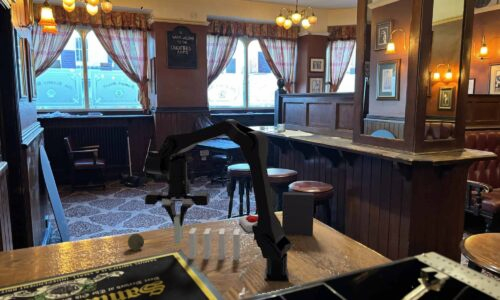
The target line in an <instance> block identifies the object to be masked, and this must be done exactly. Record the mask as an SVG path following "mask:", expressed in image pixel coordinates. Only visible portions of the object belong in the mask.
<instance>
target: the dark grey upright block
mask: <svg viewBox="0 0 500 300" xmlns="http://www.w3.org/2000/svg"><path fill="white" fill-rule="evenodd" d="M314 207H315V196H314V192H294V191H293V192H292V191H291V192H289V191H288V192H287V191H286V192H285V191H284V192H282V213H281V215H282V217H281V226H282V228H283V231H284V235H285V236H303V237H305V236H306V237H307V236H309V237H310V236H311V237H313V236H314V213H315V212H314Z"/></svg>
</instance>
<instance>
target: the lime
mask: <svg viewBox="0 0 500 300" xmlns="http://www.w3.org/2000/svg"><path fill="white" fill-rule="evenodd" d="M144 242H145V239H144V236H142V235H141V234H139V233H133V234H131V235H130V236H129V237H128V240H127V246H128V248H129V249H130V250H132V251H140V249H142V248H143V246H144Z"/></svg>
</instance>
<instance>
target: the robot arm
mask: <svg viewBox="0 0 500 300" xmlns="http://www.w3.org/2000/svg"><path fill="white" fill-rule="evenodd" d="M223 136H226V137H228V139H229V140H231V142H233V143H234V144H235V145H237V146H239V149H240V152H241V155H242V157H243V159H244V160H245V162H246V163H247V165H248V168H249V172H250V178H251V183H252V191H253V195H254V200H255V202H254V203H255V206H256V207H255V208H256V212H257V216H258V221H257V223H255V224H254V225H252V230H253V232H252V233H253V241H255V243H256V245H257V247H258V248H259V249H260V251H261V255H262V258H263V259H265V260H266V261H265V262H266V263H265V265H266V266H265V268H264V281H282V282H283V281H285V282H287V281H290V275H289V269H288V252H289V251H290V250H291V248H292V245H293V243H292V242H291V241H290V239H289V238H288V237H287V235H284V231H283V228H282V222H281V220H280V219H279V217H277V215H276V213H275V207H274V201H273V196H272V189H271V185H270V178H269V172H268V167H267V160H268V155H269V139H268V135H267V134H265V133H264V132H263V131H261V130H255V129H253V128H251V127H249V126H246V125H244V124H242V123H240V122H239V121H237V120H235V119H234V118H233V119H223V120H222V121H220V122H216V123H214V124H211V125H208V126H205V127H202V128H199V129H196V130H193V131H190V132H182V133H176V134H175V133H173V134H167V135H166V136H165V137H164V140H163V144H162V145H161V147H160V149H158V151H157V150H155V151H154V150H151V151H148V155H147V156H146V158H145V160H144V163H143V167H144V170H145V171H146V173H149V174H156V175H166V174H167V180H166V184H167V194H164V193H163V191H156V190H155V191H153V190H152V191H150V192H149V193H147V194H146V195H145V196H144V204H145V205H153V206H154V205H156V204H157V203H158V202H161V208H162V209H163V208H164V209H165V211H166V213H167V214H168V217H169V218H170V221H172V224H173V225H174V217H175V216H176V214H177V213H176V202H182V204H181V205H180V212H179V213H180V226H182V225H183V226H184V222H185V218H186V215H187V212H188V210H189V209H190V208H192V206H193V205H195V206H199V207H200V206H201V207H202V206H207V205H209V203H210V201H211V198H210V197H211V196H210V193H209V192H208V191H204V192H203V191H200V192H199V191H197V192H196V193H195V194H191V187H192V185H191V184H192V183H190V182H189V181H188V180H189V179H188V164H187V163H189V162H192V161H194V158H193V157H192V156H191V155H190V154H189V153H188V152H187V151H189V150H192V149H193V148H194V147H196V146H197V145H198V144H202V143H204V142H207V141H211V140H214V139H217V138H221V137H223ZM185 152H186V153H185ZM181 153H183V154H182V155H180V154H181ZM171 156H172V157H171Z"/></svg>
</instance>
